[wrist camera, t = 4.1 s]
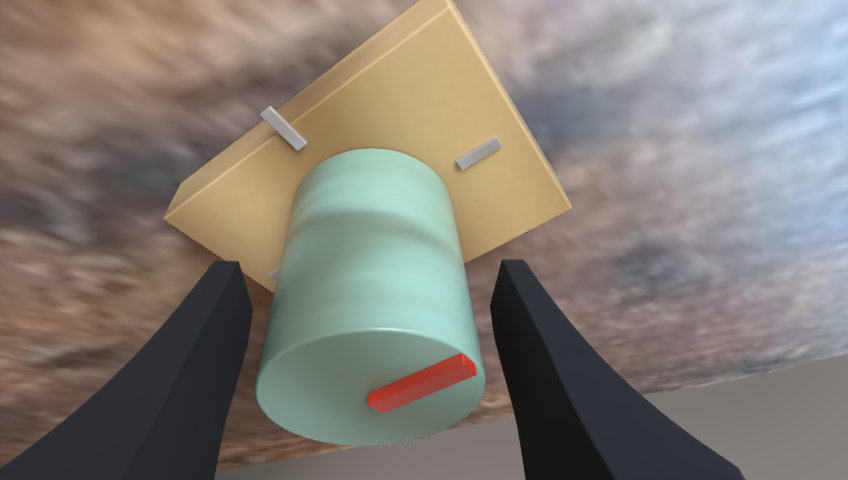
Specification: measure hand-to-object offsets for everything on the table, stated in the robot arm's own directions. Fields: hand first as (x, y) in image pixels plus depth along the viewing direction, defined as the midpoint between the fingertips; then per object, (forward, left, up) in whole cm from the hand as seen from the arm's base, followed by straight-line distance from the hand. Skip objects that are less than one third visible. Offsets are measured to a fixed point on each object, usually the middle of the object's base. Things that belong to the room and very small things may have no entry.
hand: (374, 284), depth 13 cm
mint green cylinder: (0, 0, -3) cm, 3 cm away
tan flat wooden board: (0, 0, -5) cm, 5 cm away
